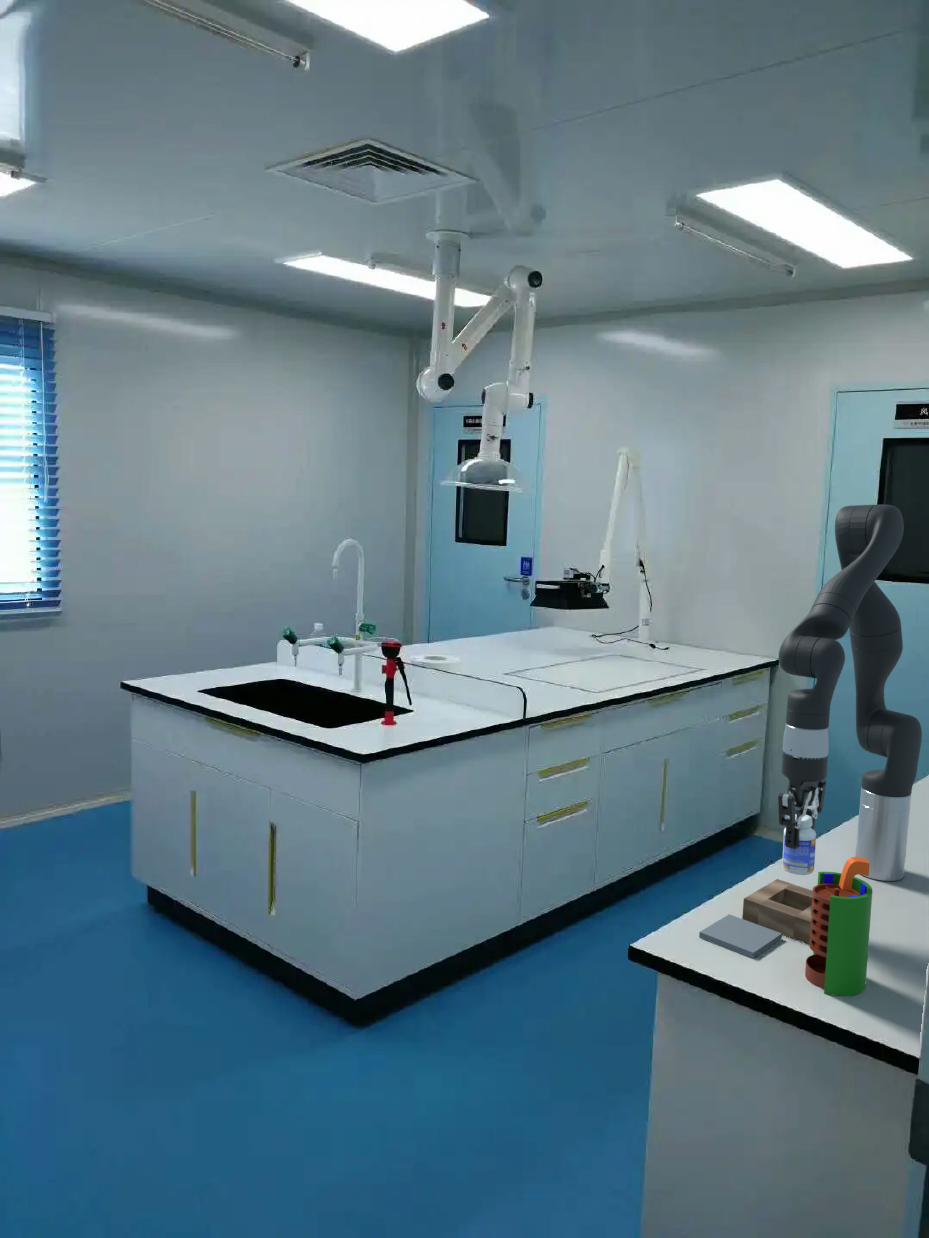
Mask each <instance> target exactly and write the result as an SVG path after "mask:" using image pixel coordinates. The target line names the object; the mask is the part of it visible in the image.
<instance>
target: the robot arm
mask: <svg viewBox="0 0 929 1238" xmlns="http://www.w3.org/2000/svg"><path fill="white" fill-rule="evenodd" d="M834 522H835V523H834V537H835V545H836V550H837V556H838V560H839V564H840V569H841V570H840V571H839V572H838V573H836V574H835V575H834V576H833V577H831V578H830V579H829V580H828V581H827V582H825V584H824V585H823V586H822V588H821V589H820V591H819V592H818V594H817V596H816V598H815V600H814V602H813V604H812V607H810V610H809V613H808V614H807V615H806V616H805V617H804V618H803V619H802V620H801V621H800V622H799V623H798V624H797V625H796V626H794V628H793V629H792V630H791V631H790V632H789V633H788V635H787V636H786V637H785V638H784V640H783V641H782V644H781V645H780V648H779V652H778V662H779V665H780V668H781V670H782V671H783V672H784V673H786V674H788V675H790V676H791V675H792V676H797V677H803V678H805V677H806V678H810V679H816V681H815V685H814V686H813V687H812V688H798V689H794V690H791V691H790V692H789V694H788V696H787V700H786V701H787V702H786V715H785V717H786V718H785V727H784V728H785V729H784V732H783V741H782V756H781V770H780V771H781V774H782V775H783V776H784V777H785V778H787V780H788V785H787V790H786V792H785V793H782V792H780V793H779V794H778V798H777V799H778V824H779V825H780V826H784V827H785V828H786V834H785V846H786V847H789V848H792V849H797V848H798V847H799V834H800V828H799V827H800V824H801V819H802V817H803V816H805V815H809V816H811V817H812V827H811V828H812V829H813V830H814V831H815V826H816V820H817V818H818V814H821V813H822V812H823V806H824V800H825V795H826V789H827V788H826V787H827V780H826V779H827V777H828V768H829V749H830V730H829V728H830V727H829V726H830V713H831V712H830V711H831V704H832V699H833V697H834V696H833V695H834V693H835V689H836V687H837V683H838V681H839V678H840V676H841V674H842V671H843V669H844V666H845V661H846V654H845V650H844V648H843V646H842V643H840V642H839V641H838V640H840V639H842V638H843V637H844V636H845V635H846V634H847V632H848V630H849V640H850V646H851V653H852V660H853V669H854V683H855V730H856V731H855V732H856V738H857V742H858V744H859V746H860V748H861V749H862V750H864V751H866V752H868V753H871V754H872V755H873V754H874V755H877V756H881V757H883V758H886V762H885V767H884V768H881V769H871V770H867V771H865V772H864V773H863V774H862V778H861V787H860V796H859V797H860V798H859V809H858V810H859V812H858V819H857V820H858V821H857V834H856V845H855V846H856V847H855V856H854V857H859V858H865V859H866V860H867V861H868V862H869V876H866V875H862V876H864V877H866V878H869V879H873V880H878V881H885V882H893V881H899V880H901V879H903V878H904V876H905V865H906V859H907V858H906V857H907V844H908V834H909V824H910V813H911V804H912V803H911V802H912V801H911V800H912V791H913V787H914V784H915V781H916V779H917V778H916V777H917V775H918V766H919V765H918V764H919V758H920V752H921V749H922V737H923V731H922V725H921V722H920V721H919V719H918V718H916V717H915V716H913V715H910V714H907V713H903V712H898V711H894V710H889V709H887V707H886V702H885V687H886V684H887V683H886V682H887V681H888V679H889V676H890V675H891V674H892V672H893V671H894V669H895V667H896V666H897V664H898V662H899V661H900V658H901V655H902V653H903V647H904V642H903V632H902V622H901V617H900V614H899V612H898V610H897V609H896V607H895V605H894V604H893V603H892V602H891V600H890V599H889V597H888V596H887V595H886V594H885V593H884V592H883V590H882V589H881V588H880V587H879V585H878V584H877V583H876V580H877V578H878V577H879V576H880V575H881V573H882V572H883V570H884V569H885V568H886V566H887V565H888V563H889V561H890V560H891V559H892V558H893V556H894V555H895V553H896V552H897V550H898V549H899V547H900V544H901V542H902V539H903V536H904V530H905V524H904V517H903V515H902V512H901V510H900V509H899V508H898V507H896V505H893V504H892V505H891V504H860V505H859V504H858V505H857V504H856V505H855V504H854V505H853V504H852V505H846V506H842V507H841V508H840V509H839V510H838V512H837V513H836V517H835V521H834ZM795 814H796V815H797V817H796V819H795Z"/></svg>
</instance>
